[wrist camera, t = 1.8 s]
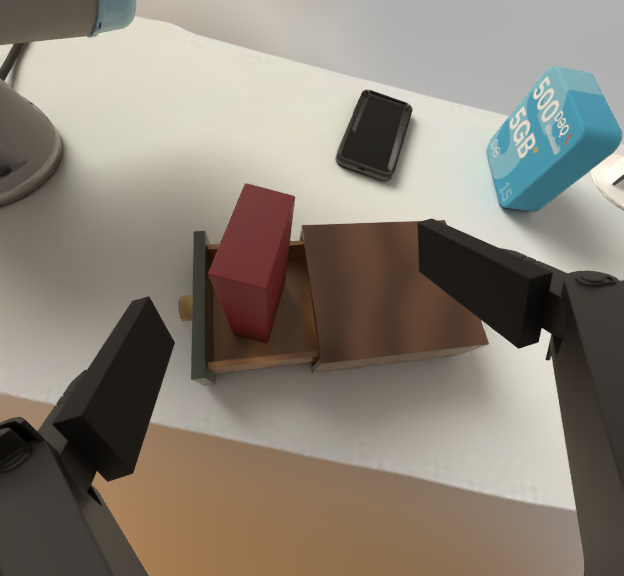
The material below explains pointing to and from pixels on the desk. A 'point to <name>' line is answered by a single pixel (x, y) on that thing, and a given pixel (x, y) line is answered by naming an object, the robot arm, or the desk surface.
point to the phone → (374, 135)
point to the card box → (253, 261)
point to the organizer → (379, 298)
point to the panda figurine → (610, 179)
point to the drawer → (237, 350)
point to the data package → (552, 139)
